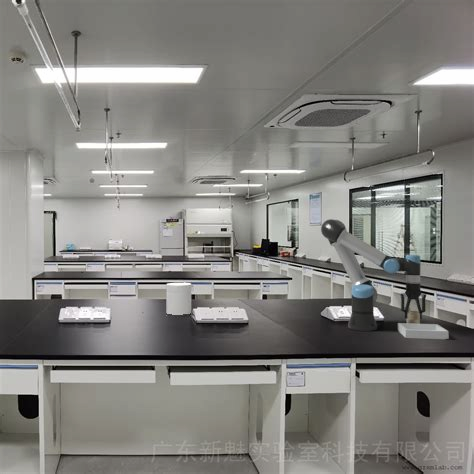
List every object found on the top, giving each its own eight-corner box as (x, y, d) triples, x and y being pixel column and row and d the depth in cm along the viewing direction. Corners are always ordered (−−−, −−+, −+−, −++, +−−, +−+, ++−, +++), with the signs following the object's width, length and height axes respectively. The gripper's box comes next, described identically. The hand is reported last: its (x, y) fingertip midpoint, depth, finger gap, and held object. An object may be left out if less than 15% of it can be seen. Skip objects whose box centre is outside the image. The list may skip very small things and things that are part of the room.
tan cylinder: (409, 328, 236) (409, 312, 236) (407, 326, 241) (407, 310, 241) (419, 328, 235) (419, 312, 235) (416, 327, 240) (416, 310, 240)
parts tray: (405, 338, 213) (405, 330, 213) (397, 330, 231) (397, 323, 231) (448, 339, 210) (448, 331, 210) (437, 331, 228) (437, 324, 228)
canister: (161, 315, 276) (161, 284, 276) (177, 311, 289) (177, 282, 290) (180, 317, 267) (180, 285, 268) (196, 314, 281) (196, 283, 281)
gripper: (397, 283, 236) (397, 325, 236) (432, 283, 233) (432, 326, 233) (394, 281, 243) (394, 322, 243) (428, 282, 241) (428, 323, 240)
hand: (413, 324), depth 238 cm, fingers closed on tan cylinder, 5 cm apart
